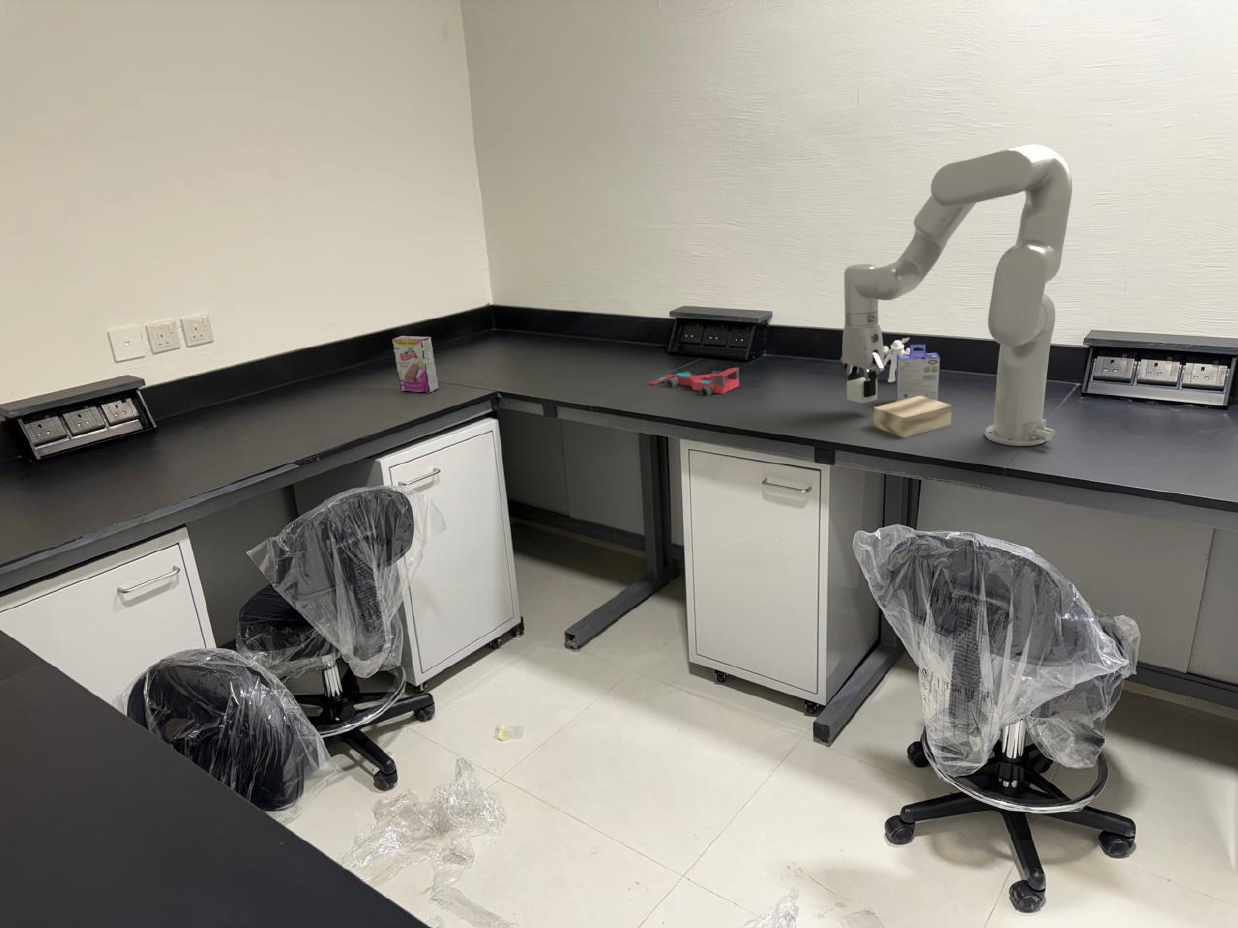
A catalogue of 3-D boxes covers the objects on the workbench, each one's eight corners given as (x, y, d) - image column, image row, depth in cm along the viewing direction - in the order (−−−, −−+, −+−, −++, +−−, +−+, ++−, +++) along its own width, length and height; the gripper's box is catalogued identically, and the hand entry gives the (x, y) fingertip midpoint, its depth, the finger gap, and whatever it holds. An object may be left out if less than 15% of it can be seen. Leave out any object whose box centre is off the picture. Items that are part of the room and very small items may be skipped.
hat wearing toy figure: (914, 381, 235) (916, 337, 231) (909, 384, 232) (911, 340, 228) (881, 377, 240) (883, 334, 236) (876, 381, 237) (877, 338, 233)
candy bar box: (400, 392, 266) (390, 339, 260) (410, 387, 270) (401, 335, 264) (430, 394, 261) (421, 340, 256) (440, 389, 266) (431, 336, 260)
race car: (672, 356, 259) (745, 364, 243) (673, 375, 261) (745, 385, 245) (642, 368, 249) (716, 377, 233) (644, 388, 251) (717, 399, 235)
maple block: (950, 426, 201) (952, 405, 199) (904, 439, 196) (905, 417, 194) (918, 415, 210) (919, 395, 208) (873, 427, 204) (873, 407, 202)
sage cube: (877, 399, 210) (877, 381, 208) (860, 403, 208) (860, 385, 207) (863, 395, 214) (863, 377, 213) (847, 399, 213) (846, 381, 211)
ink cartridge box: (935, 399, 219) (938, 343, 213) (938, 406, 214) (941, 348, 208) (894, 400, 221) (896, 344, 216) (896, 407, 216) (898, 349, 211)
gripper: (899, 320, 199) (898, 397, 205) (851, 311, 213) (852, 383, 220) (872, 326, 196) (872, 404, 202) (825, 317, 211) (827, 389, 217)
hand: (861, 392), depth 211 cm, fingers closed on sage cube, 5 cm apart
